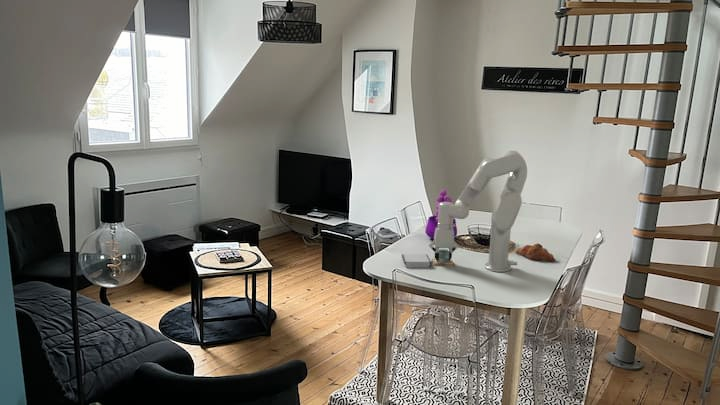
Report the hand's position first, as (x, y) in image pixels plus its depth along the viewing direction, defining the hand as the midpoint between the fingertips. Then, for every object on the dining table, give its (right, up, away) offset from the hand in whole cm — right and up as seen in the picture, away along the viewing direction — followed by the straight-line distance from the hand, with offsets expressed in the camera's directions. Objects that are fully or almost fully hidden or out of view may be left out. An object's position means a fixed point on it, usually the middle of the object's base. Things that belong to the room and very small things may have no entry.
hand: (442, 259), depth 272 cm
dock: (-14, -2, 0) cm, 14 cm away
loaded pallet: (0, -2, +1) cm, 2 cm away
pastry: (+52, -1, +13) cm, 54 cm away
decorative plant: (+5, +7, +43) cm, 44 cm away
